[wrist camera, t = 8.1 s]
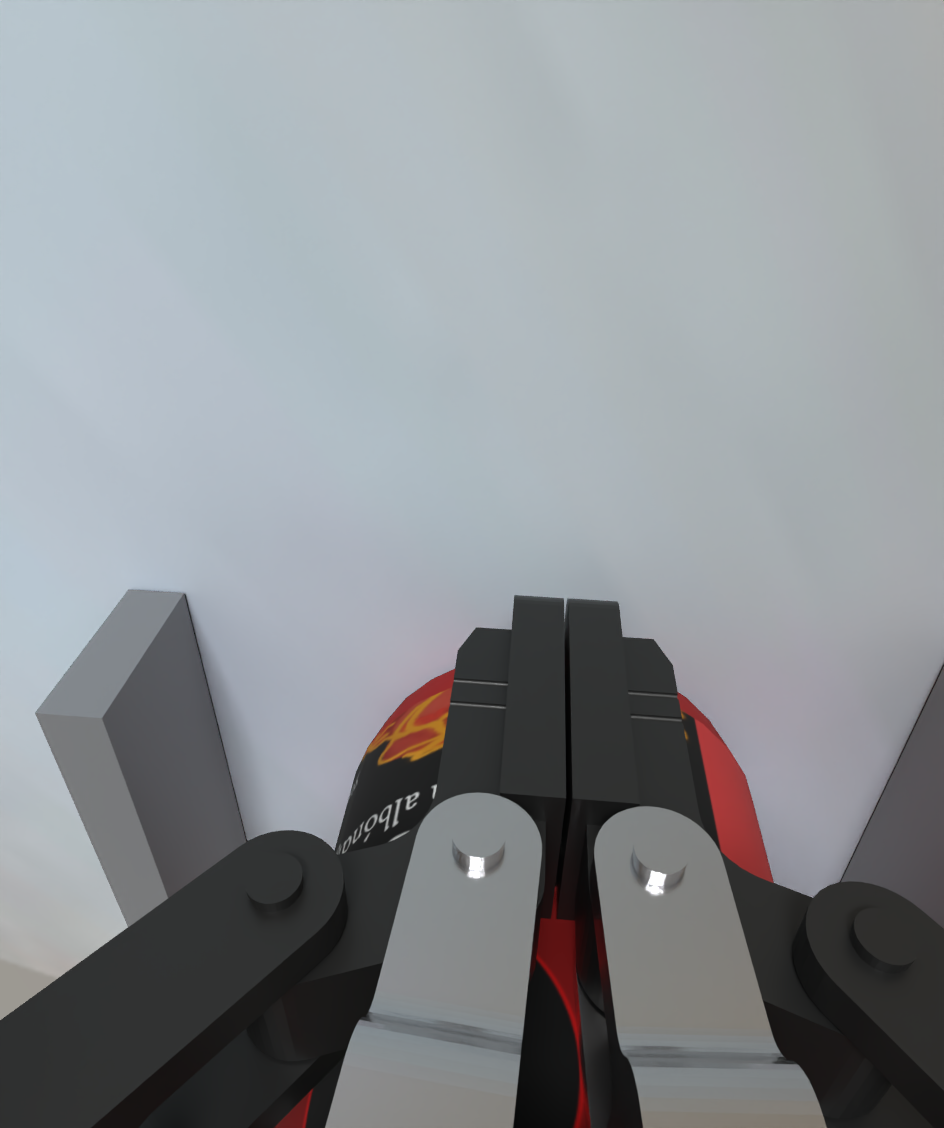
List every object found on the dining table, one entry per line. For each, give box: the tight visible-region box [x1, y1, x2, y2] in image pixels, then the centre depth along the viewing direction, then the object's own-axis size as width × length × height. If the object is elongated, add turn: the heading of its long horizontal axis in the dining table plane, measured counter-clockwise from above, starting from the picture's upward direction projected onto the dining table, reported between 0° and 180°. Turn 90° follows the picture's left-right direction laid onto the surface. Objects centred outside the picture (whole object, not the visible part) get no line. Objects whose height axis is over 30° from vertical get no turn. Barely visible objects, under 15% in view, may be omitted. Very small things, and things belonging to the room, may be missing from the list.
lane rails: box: [35, 590, 944, 928], centre depth 15 cm, size 15×10×3 cm, turn 89°
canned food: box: [274, 669, 774, 1128], centre depth 11 cm, size 8×8×11 cm
